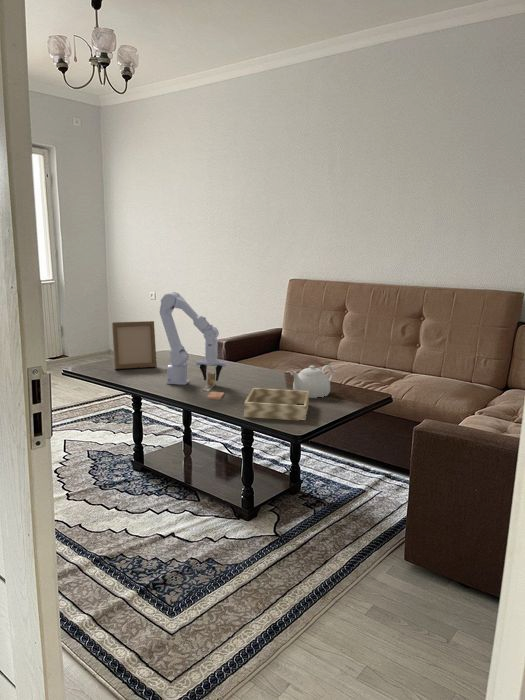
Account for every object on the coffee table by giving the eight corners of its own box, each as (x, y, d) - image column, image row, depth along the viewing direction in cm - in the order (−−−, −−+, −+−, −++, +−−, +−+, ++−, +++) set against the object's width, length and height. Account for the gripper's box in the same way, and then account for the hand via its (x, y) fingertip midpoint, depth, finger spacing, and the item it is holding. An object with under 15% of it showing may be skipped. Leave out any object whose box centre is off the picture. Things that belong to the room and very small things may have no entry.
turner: (202, 391, 252) (202, 378, 251) (208, 384, 264) (208, 372, 263) (208, 391, 251) (208, 379, 250) (214, 384, 264) (215, 372, 263)
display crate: (244, 416, 216) (244, 402, 215) (252, 401, 238) (252, 387, 237) (305, 420, 213) (306, 406, 212) (308, 404, 235) (308, 391, 234)
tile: (211, 394, 248) (207, 400, 240) (211, 391, 248) (207, 396, 239) (224, 395, 247) (220, 400, 239) (224, 392, 247) (220, 397, 239)
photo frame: (156, 368, 295) (155, 322, 291) (115, 370, 288) (114, 323, 283) (152, 362, 309) (151, 319, 305) (112, 365, 301) (111, 320, 297)
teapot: (330, 400, 241) (332, 371, 239) (289, 397, 244) (290, 368, 242) (332, 390, 259) (334, 362, 257) (294, 387, 262) (295, 360, 260)
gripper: (194, 353, 257) (194, 381, 259) (224, 355, 255) (224, 383, 258) (198, 350, 264) (198, 377, 266) (227, 352, 262) (227, 379, 264)
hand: (211, 380), depth 262 cm, fingers open, 5 cm apart
